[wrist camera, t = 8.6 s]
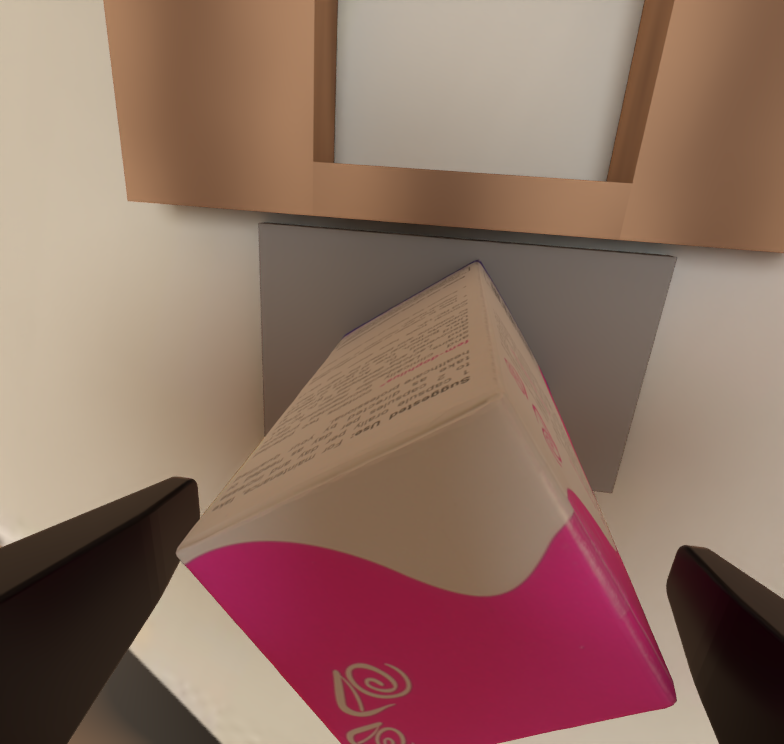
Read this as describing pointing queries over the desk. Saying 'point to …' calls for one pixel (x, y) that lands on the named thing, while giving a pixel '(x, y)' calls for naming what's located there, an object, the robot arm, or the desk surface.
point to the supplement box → (431, 541)
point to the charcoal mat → (518, 290)
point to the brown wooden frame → (450, 188)
